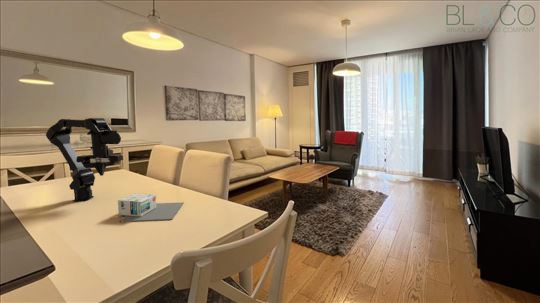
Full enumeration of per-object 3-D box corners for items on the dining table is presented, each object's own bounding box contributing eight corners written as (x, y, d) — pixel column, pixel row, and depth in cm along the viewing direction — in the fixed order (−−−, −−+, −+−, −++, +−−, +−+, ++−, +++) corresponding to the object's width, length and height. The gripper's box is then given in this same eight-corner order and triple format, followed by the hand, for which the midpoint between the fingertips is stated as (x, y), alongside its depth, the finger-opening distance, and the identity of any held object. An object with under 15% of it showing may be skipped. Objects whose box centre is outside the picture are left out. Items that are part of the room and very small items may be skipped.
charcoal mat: (120, 222, 98) (119, 220, 98) (140, 204, 118) (140, 203, 118) (172, 219, 101) (172, 218, 101) (183, 203, 120) (183, 202, 120)
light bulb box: (118, 215, 104) (141, 217, 102) (117, 199, 103) (140, 201, 101) (135, 206, 114) (157, 208, 113) (135, 192, 113) (156, 194, 112)
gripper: (126, 142, 129) (129, 171, 131) (88, 142, 127) (91, 172, 129) (116, 144, 118) (118, 176, 120) (74, 145, 116) (77, 177, 118)
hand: (101, 175), depth 122 cm, fingers closed
